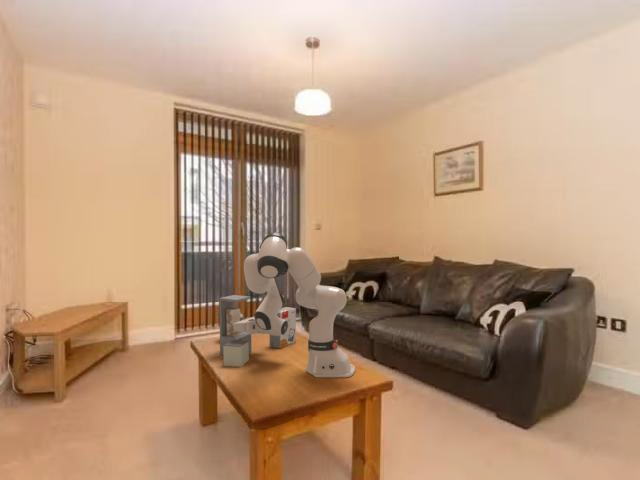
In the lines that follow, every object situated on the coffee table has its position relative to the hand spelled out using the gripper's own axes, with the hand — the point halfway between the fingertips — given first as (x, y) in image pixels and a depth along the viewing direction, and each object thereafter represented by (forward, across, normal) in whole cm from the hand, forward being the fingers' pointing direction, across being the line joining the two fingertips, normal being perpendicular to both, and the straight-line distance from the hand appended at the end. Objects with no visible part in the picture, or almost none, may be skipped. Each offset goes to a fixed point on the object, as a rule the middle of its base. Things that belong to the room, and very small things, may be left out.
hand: (238, 321), depth 190 cm
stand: (-8, +11, +17) cm, 22 cm away
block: (+4, 0, +8) cm, 9 cm away
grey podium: (+3, -1, +17) cm, 18 cm away
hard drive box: (-11, -24, +17) cm, 32 cm away
